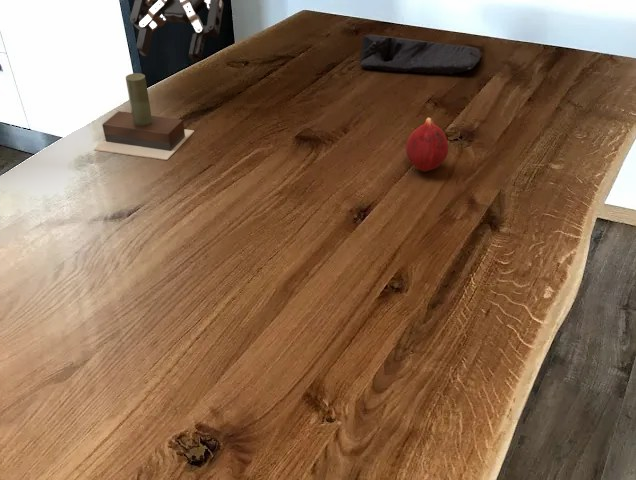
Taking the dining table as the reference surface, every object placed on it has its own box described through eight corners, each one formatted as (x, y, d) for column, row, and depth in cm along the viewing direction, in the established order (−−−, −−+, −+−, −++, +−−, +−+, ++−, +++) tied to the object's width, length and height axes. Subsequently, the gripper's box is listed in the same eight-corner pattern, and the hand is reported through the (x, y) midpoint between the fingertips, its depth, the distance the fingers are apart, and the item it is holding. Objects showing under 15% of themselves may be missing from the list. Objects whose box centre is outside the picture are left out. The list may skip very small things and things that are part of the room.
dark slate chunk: (472, 83, 129) (475, 57, 126) (352, 69, 134) (353, 43, 131) (484, 54, 140) (488, 28, 137) (373, 42, 146) (374, 17, 143)
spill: (94, 150, 110) (93, 149, 110) (125, 122, 117) (125, 121, 117) (167, 160, 107) (167, 159, 107) (194, 131, 115) (194, 130, 115)
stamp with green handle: (105, 141, 112) (92, 78, 106) (121, 127, 115) (110, 66, 109) (171, 151, 109) (161, 87, 103) (185, 136, 113) (177, 74, 107)
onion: (453, 174, 104) (460, 121, 99) (422, 185, 102) (428, 131, 96) (426, 158, 108) (432, 106, 103) (396, 168, 105) (400, 116, 100)
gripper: (137, -59, 113) (115, 41, 112) (223, -53, 110) (201, 50, 109) (157, -31, 121) (136, 63, 120) (238, -25, 118) (217, 72, 117)
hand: (167, 56), depth 114 cm, fingers open, 8 cm apart
